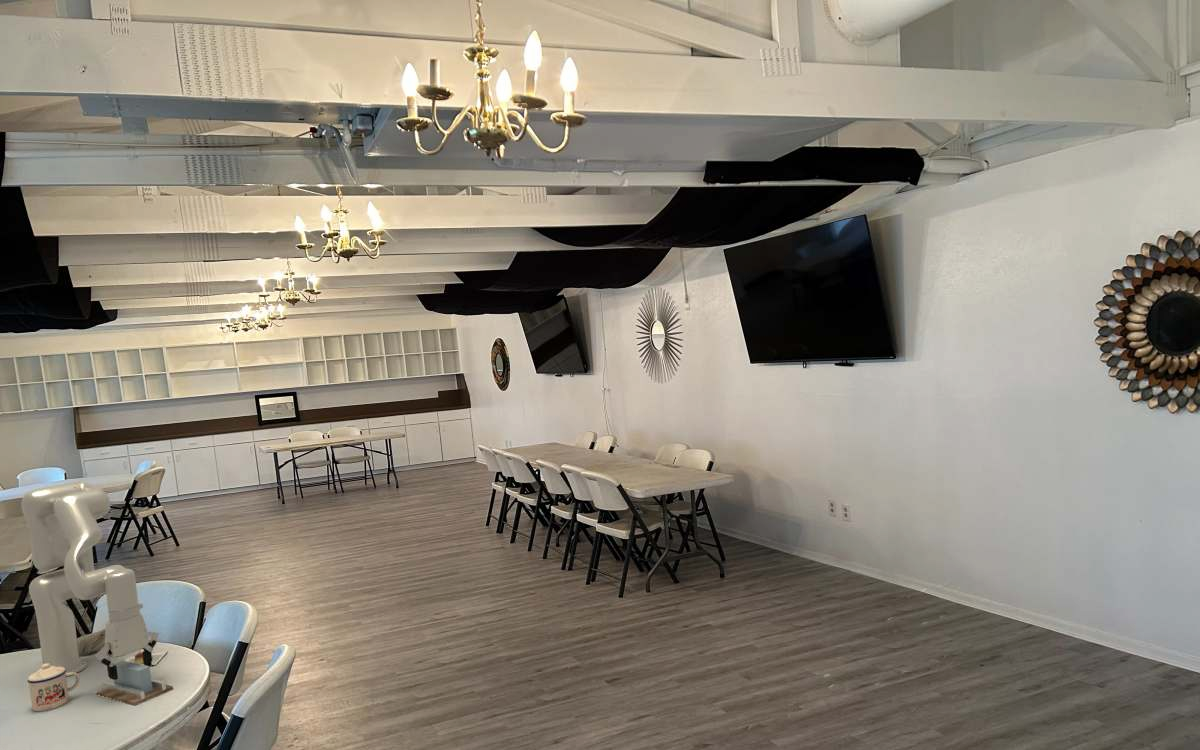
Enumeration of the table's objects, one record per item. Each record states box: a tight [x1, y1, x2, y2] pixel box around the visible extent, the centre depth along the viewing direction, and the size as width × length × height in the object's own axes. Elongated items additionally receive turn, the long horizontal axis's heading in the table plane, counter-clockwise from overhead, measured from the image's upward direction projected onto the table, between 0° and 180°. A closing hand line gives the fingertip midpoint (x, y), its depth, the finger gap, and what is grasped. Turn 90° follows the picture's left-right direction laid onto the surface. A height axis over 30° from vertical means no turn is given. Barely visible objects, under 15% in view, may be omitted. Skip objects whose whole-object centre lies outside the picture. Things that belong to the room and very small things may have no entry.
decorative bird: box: [77, 627, 106, 656], centre depth 275 cm, size 5×16×8 cm, turn 118°
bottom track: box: [95, 678, 174, 706], centre depth 237 cm, size 20×11×3 cm, turn 58°
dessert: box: [124, 649, 168, 666], centre depth 262 cm, size 12×12×5 cm
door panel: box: [113, 660, 153, 694], centre depth 237 cm, size 14×3×7 cm, turn 58°
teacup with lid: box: [27, 663, 80, 712], centre depth 234 cm, size 12×9×12 cm
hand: (131, 672), depth 237 cm, fingers open, 9 cm apart
